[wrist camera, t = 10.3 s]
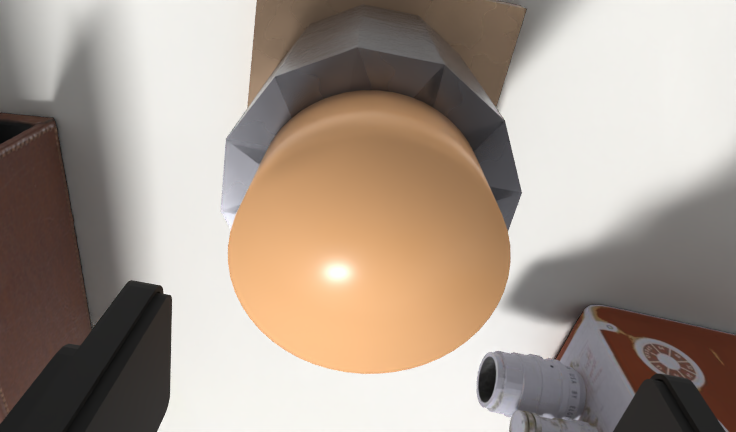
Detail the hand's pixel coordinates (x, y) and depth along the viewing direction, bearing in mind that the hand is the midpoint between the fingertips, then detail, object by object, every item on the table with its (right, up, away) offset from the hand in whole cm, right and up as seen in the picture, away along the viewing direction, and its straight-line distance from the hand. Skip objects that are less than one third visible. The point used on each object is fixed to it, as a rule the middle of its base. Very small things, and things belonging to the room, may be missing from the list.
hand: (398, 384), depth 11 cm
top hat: (0, +9, +17) cm, 19 cm away
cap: (-1, +5, +10) cm, 11 cm away
